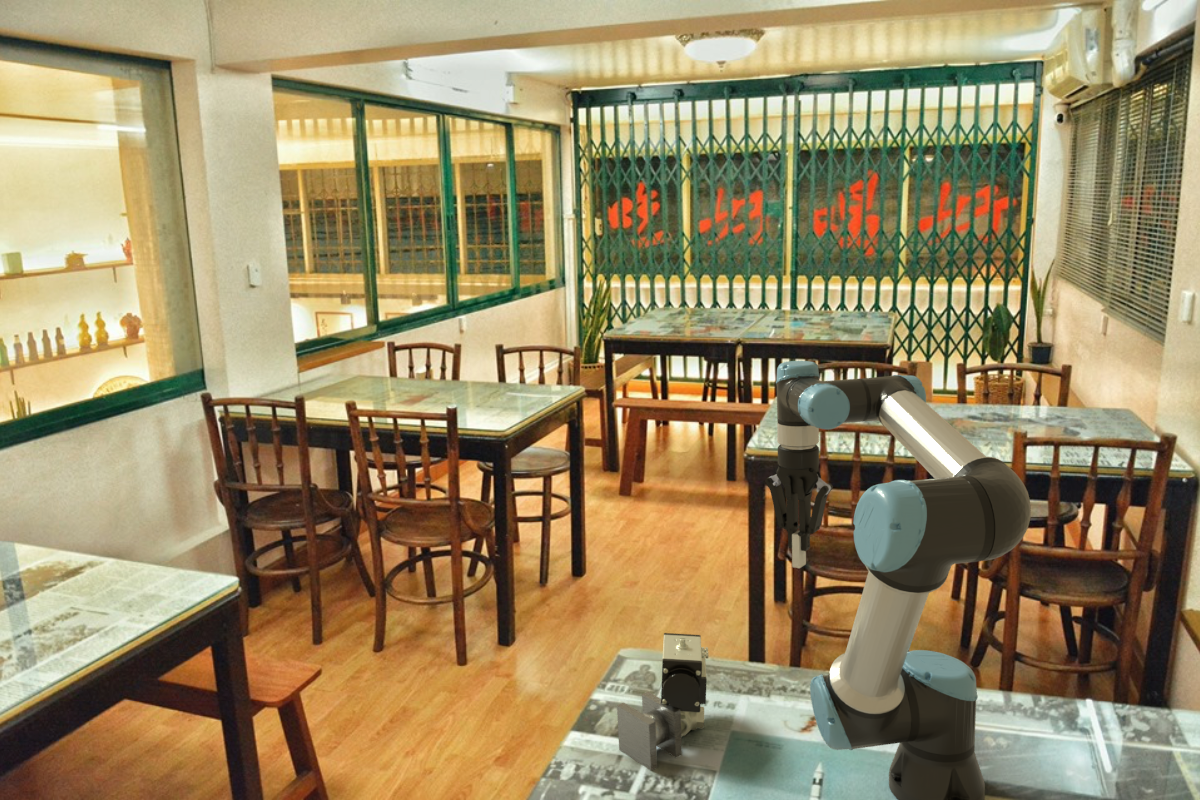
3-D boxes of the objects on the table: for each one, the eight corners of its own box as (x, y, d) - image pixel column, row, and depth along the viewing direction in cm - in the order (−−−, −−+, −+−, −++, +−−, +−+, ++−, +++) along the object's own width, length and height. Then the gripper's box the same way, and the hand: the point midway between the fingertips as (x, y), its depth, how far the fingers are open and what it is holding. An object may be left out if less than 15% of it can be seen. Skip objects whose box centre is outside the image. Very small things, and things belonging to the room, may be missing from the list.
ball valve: (706, 752, 169) (710, 659, 166) (659, 749, 169) (662, 656, 167) (703, 707, 186) (707, 622, 184) (661, 705, 187) (664, 620, 185)
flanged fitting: (681, 754, 169) (680, 709, 168) (650, 770, 165) (648, 724, 163) (649, 735, 176) (648, 691, 175) (619, 750, 172) (617, 705, 170)
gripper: (839, 444, 171) (839, 565, 175) (776, 436, 179) (777, 553, 183) (821, 453, 165) (822, 578, 169) (757, 445, 173) (759, 565, 177)
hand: (799, 565), depth 176 cm, fingers closed
